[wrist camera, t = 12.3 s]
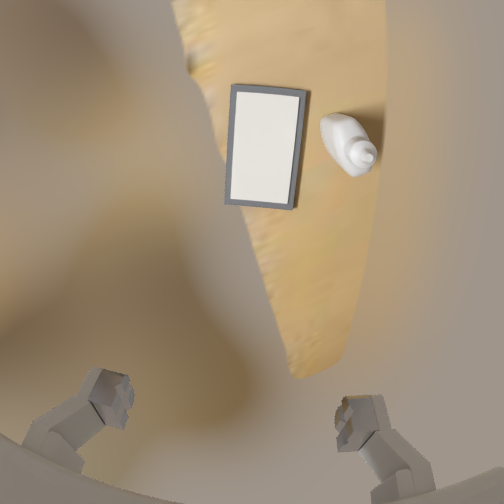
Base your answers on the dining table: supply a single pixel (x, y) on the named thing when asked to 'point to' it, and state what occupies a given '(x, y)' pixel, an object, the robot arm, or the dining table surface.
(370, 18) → the dining table surface
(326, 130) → the eye dropper bottle
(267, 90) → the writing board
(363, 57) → the dining table surface
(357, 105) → the dining table surface
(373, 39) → the dining table surface
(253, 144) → the paper
